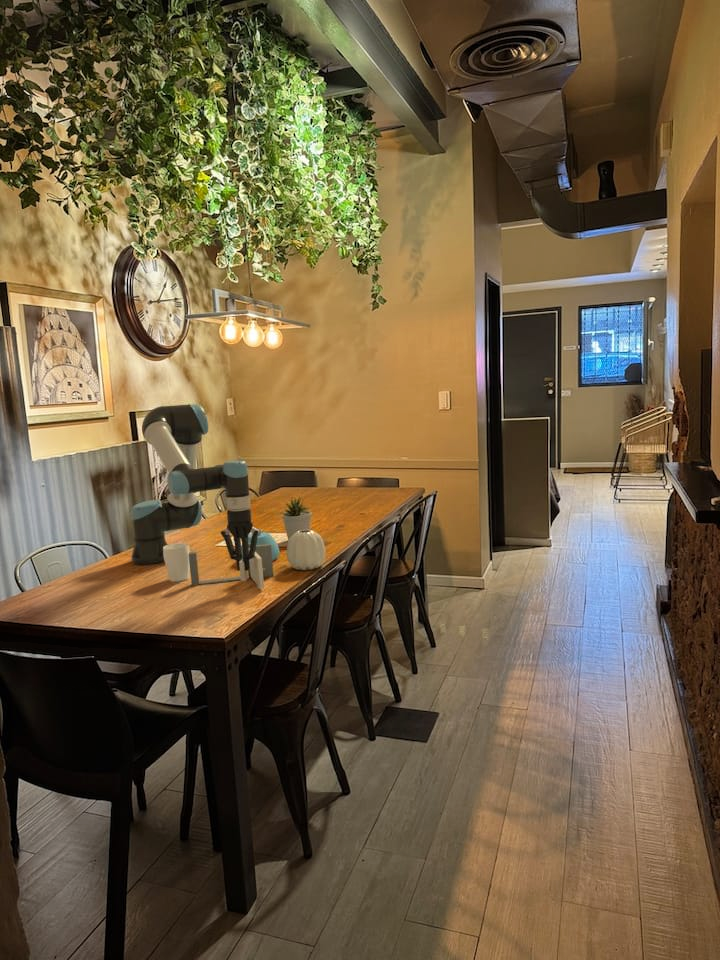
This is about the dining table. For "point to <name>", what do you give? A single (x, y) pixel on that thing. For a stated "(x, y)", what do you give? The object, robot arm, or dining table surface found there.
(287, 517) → the potted plant
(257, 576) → the curved cream plank
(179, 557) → the cup
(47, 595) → the dining table surface
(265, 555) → the grey u-shaped bar
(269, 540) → the sugar bowl
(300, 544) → the vase
